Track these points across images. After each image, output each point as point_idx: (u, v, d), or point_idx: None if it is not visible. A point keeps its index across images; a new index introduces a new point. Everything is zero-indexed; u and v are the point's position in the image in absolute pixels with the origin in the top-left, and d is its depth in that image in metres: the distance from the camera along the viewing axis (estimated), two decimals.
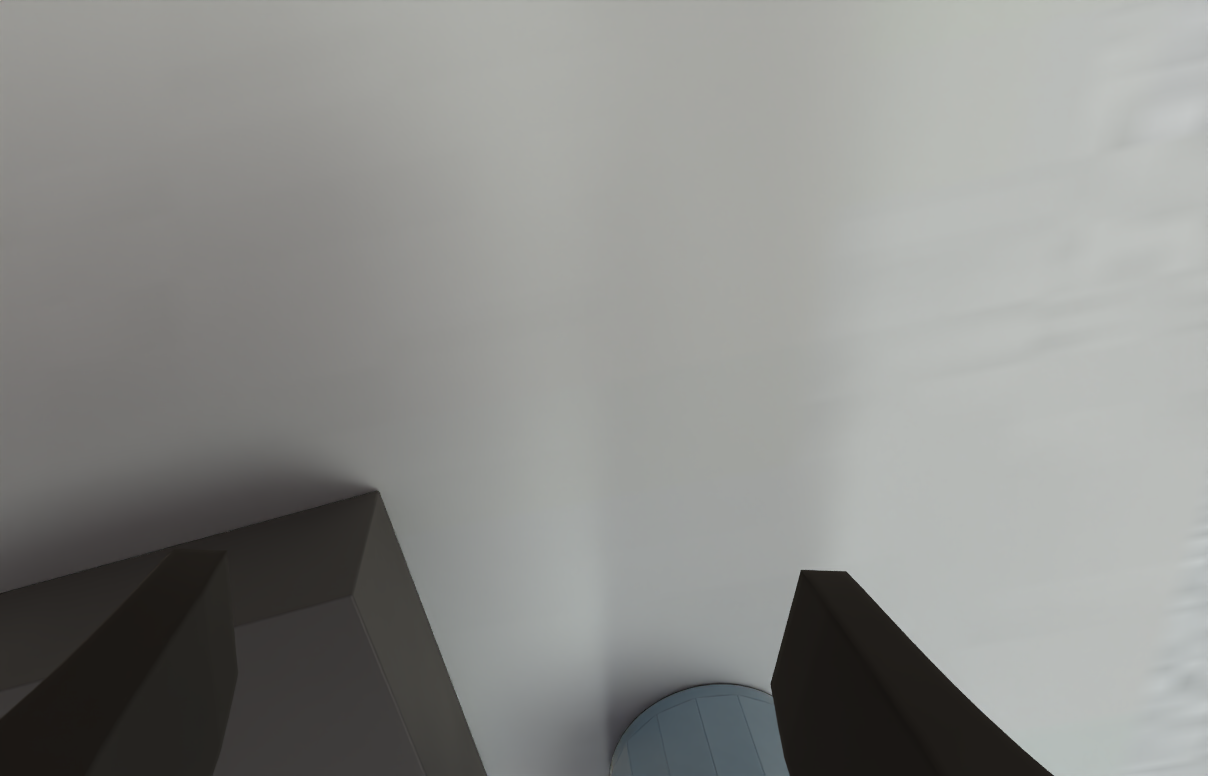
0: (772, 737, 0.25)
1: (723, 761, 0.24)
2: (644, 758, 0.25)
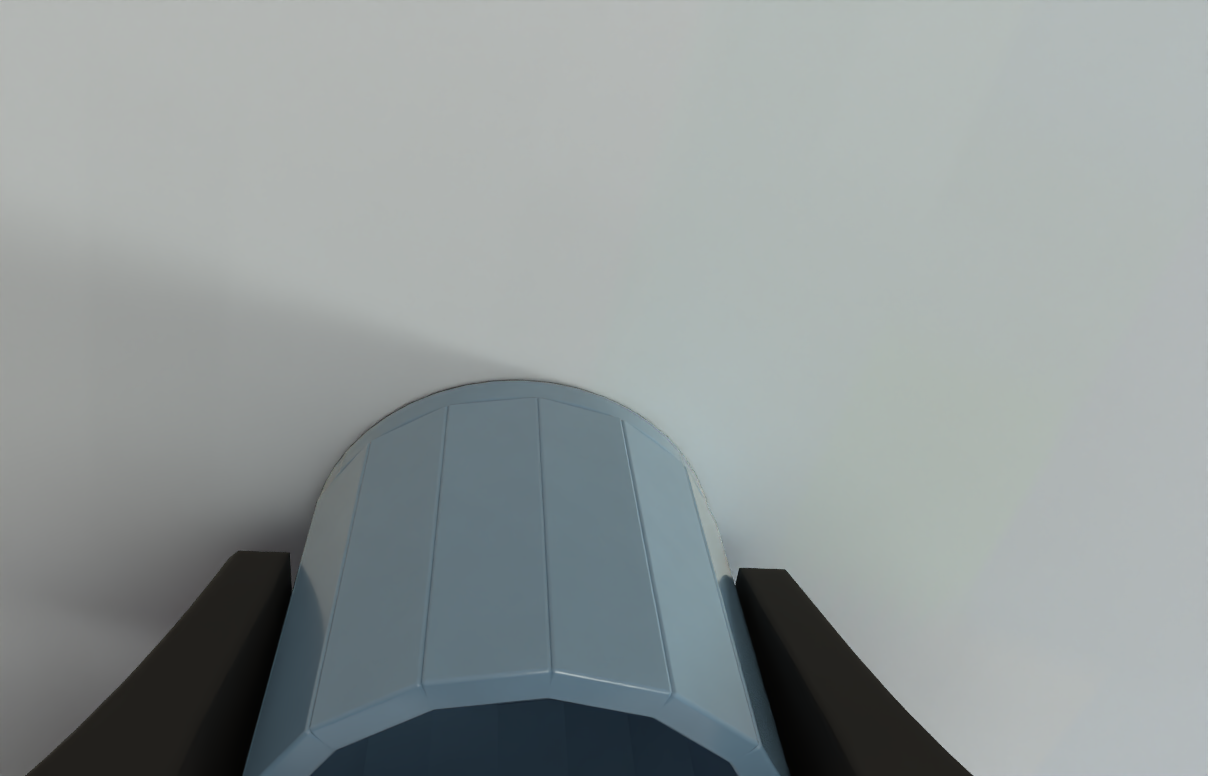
0: (328, 539, 0.11)
1: None
2: None
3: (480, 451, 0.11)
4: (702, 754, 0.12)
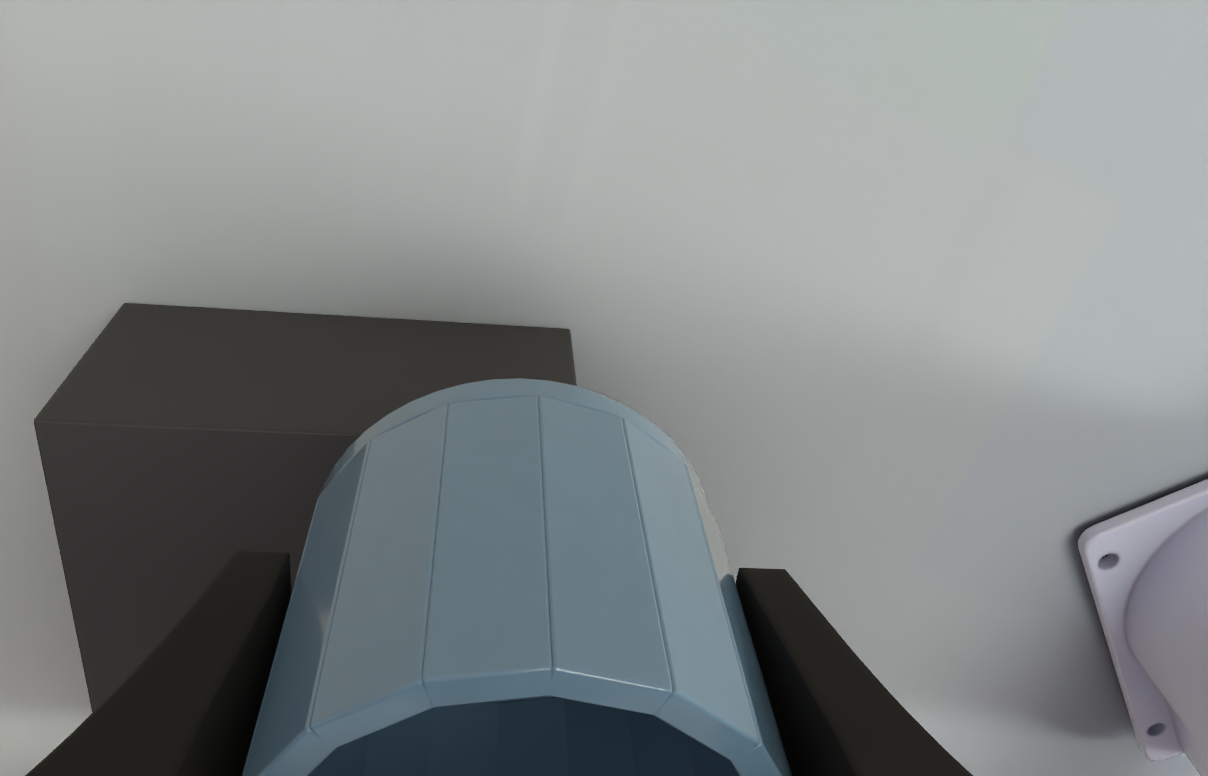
0: (328, 536, 0.11)
1: None
2: None
3: (480, 449, 0.11)
4: (702, 752, 0.12)
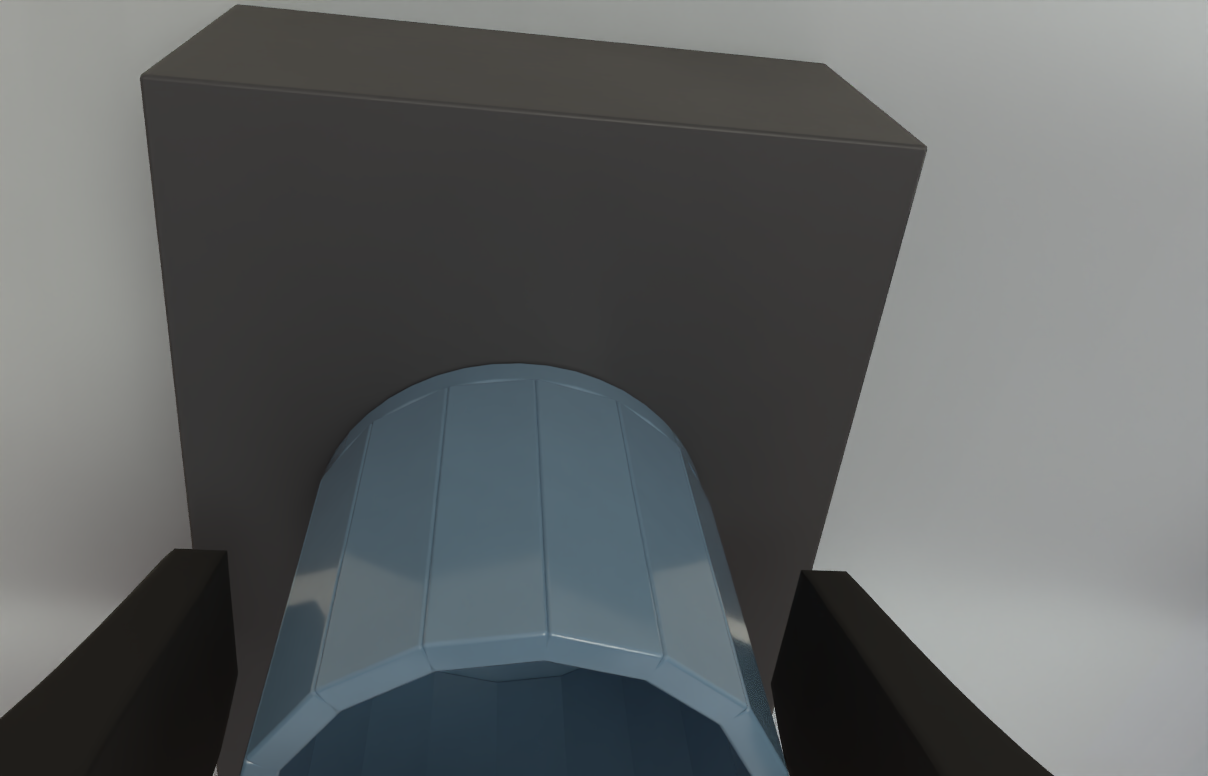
0: (331, 515, 0.12)
1: None
2: None
3: (479, 430, 0.12)
4: (695, 726, 0.13)
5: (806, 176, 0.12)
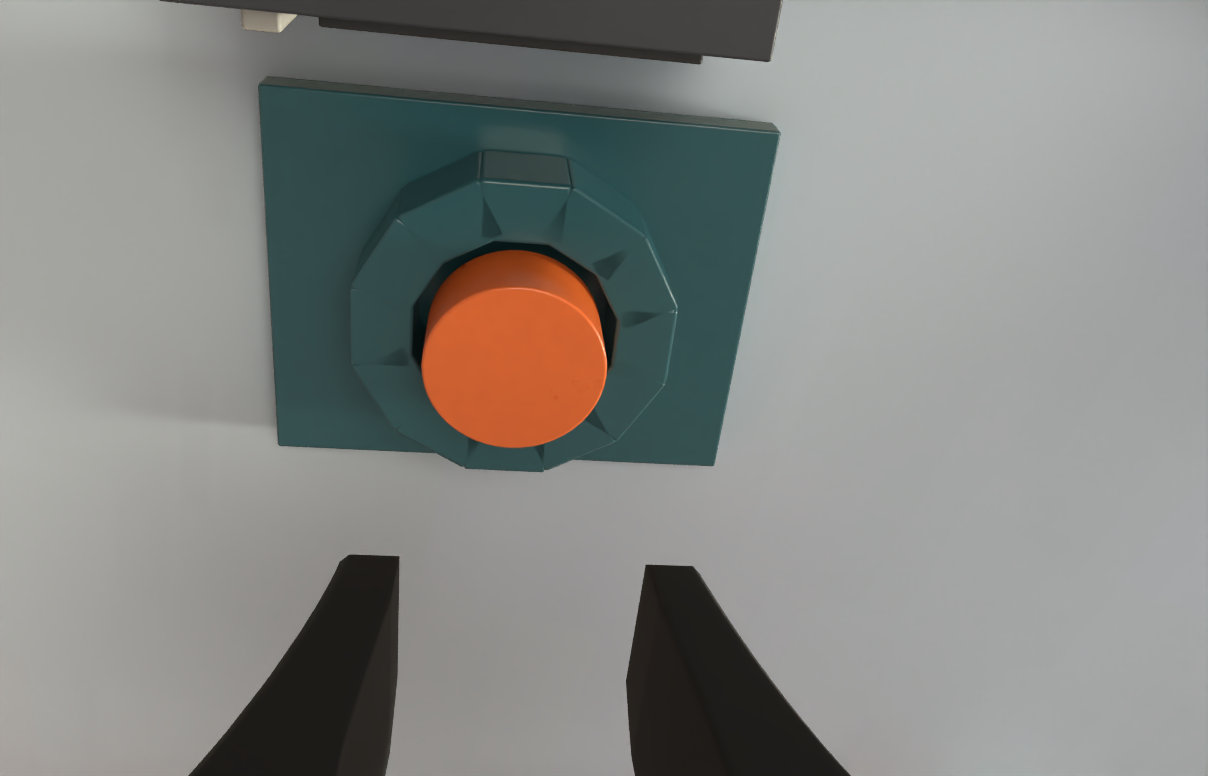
0: None
1: None
2: None
3: None
4: None
5: None
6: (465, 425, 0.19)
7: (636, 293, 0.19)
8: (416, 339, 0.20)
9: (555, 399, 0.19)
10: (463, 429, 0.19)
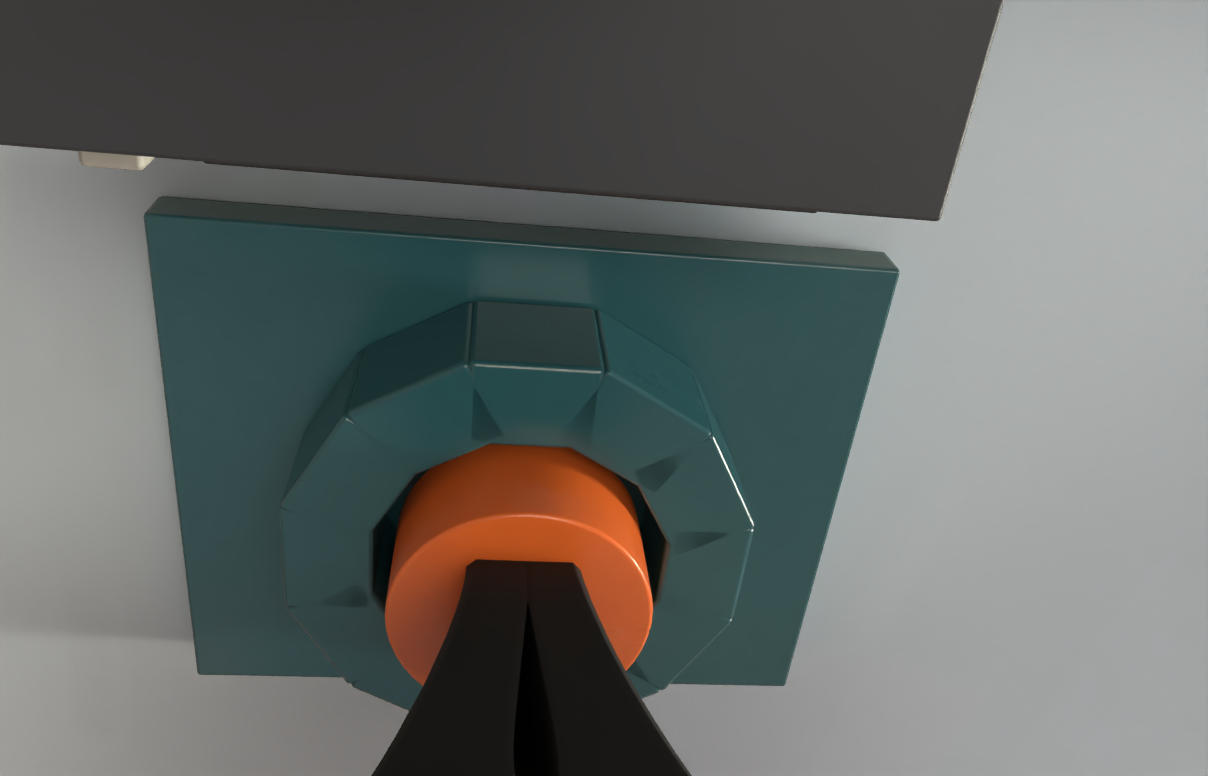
0: None
1: None
2: None
3: None
4: None
5: None
6: None
7: (696, 508, 0.13)
8: (380, 559, 0.14)
9: None
10: None
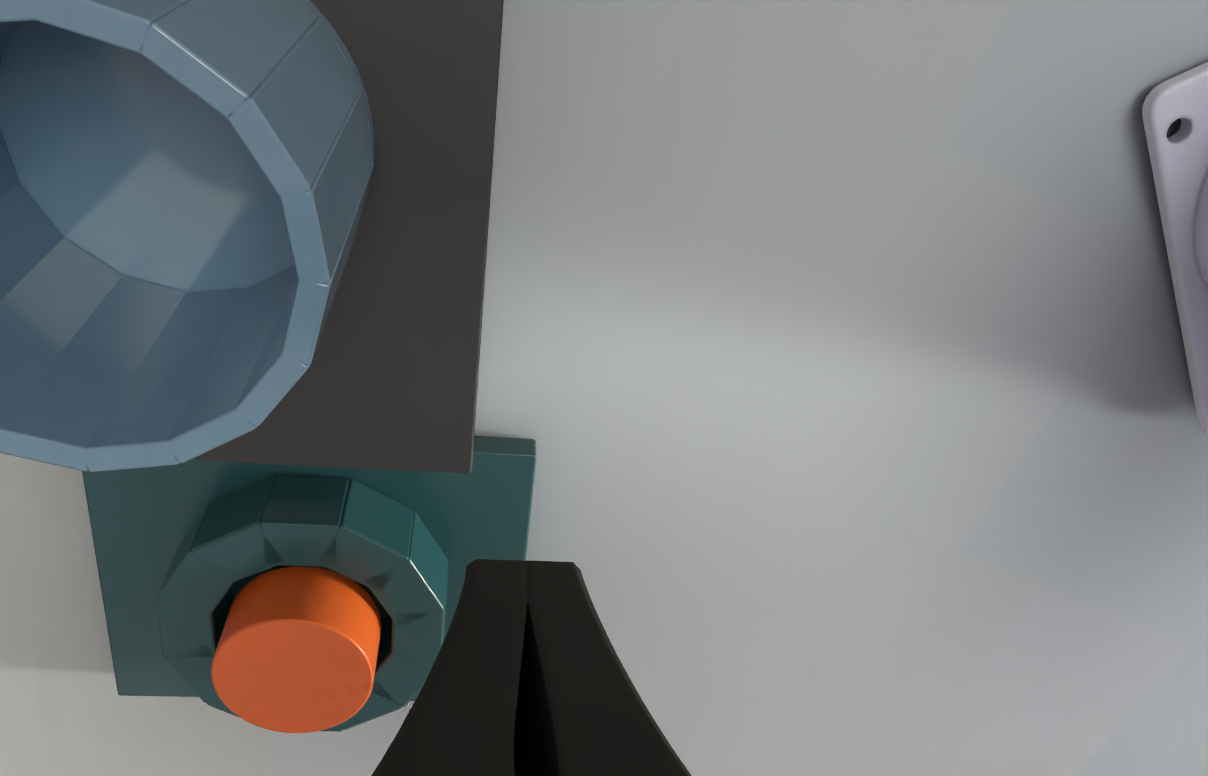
0: None
1: None
2: None
3: None
4: None
5: None
6: (255, 718, 0.22)
7: (406, 600, 0.23)
8: None
9: (330, 698, 0.22)
10: (253, 721, 0.22)
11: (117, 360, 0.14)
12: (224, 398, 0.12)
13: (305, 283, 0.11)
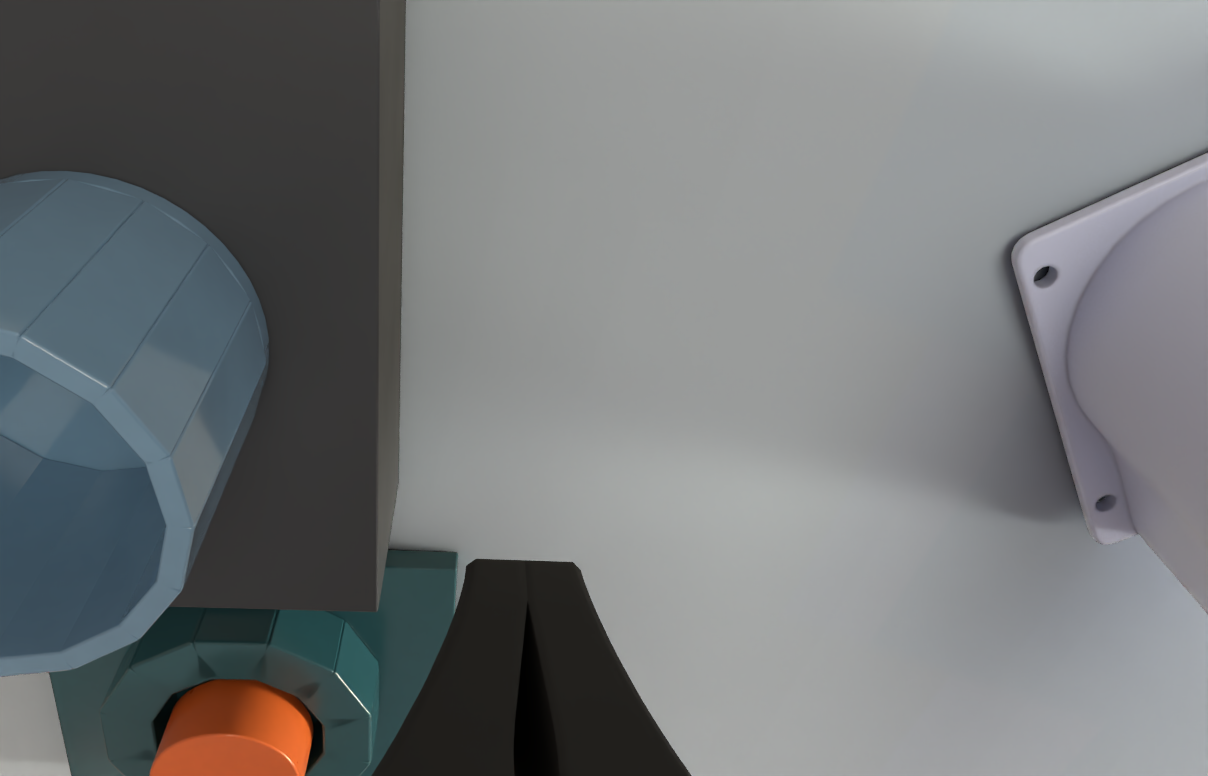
0: None
1: None
2: None
3: None
4: None
5: (278, 2, 0.14)
6: None
7: (333, 707, 0.24)
8: None
9: None
10: None
11: (27, 557, 0.15)
12: (112, 609, 0.14)
13: (172, 527, 0.13)
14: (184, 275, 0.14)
